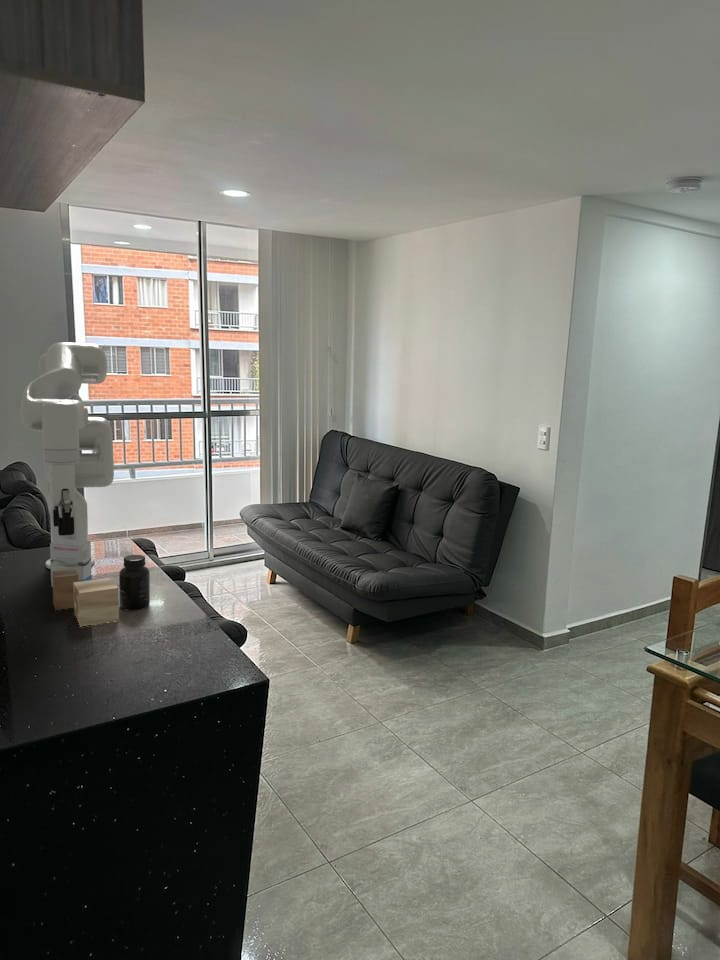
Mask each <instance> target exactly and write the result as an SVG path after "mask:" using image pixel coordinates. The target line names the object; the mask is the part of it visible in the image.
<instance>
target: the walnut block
mask: <svg viewBox="0 0 720 960" xmlns="http://www.w3.org/2000/svg"><path fill="white" fill-rule="evenodd" d="M52 579H53V588H52V603H53V604H52V605H53V608H54V609H55V611H56V610H58V611H63V610H62V609H65V610H68V609H67V608H73V609H74V596H73V582H78V573H77V571H76V569H69V570H60V571H52Z"/></svg>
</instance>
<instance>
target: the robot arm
mask: <svg viewBox="0 0 720 960" xmlns="http://www.w3.org/2000/svg"><path fill="white" fill-rule="evenodd" d="M38 371H39V376H38V377H37V378H35V379H34V380H32V381H31V382H29V383H28V384H27V385H26V386H25V388H24V390H23V393H22V396H21V402H20V403H21V404H20V421H21V423H22V425H23V427H24V428H26V429H27V430H29V431H32V432H42V433H41V434H42V437H41V438H42V457H43V458H42V461H43V464H44V473H45V479H46V483H47V502H48V504H49V515H50V516H49V519H50V543H52V542H54V541H57V540H59V539H67V540H81V541H89V527H88V526H89V525H88V523H89V522H88V502H87V500H86V498H85V497H84V496H83V495H82V494H81V493H80V492H79V491H78V490H77V489H83V488H105V487H109V486H110V485H112V483H113V482H114V478H115V477H114V476H115V462H114V443H113V442H114V440H113V430H112V426H111V423H110V421H109V419H106V418H105V417H103V416H101V417H100V416H89V409H88V407H87V406H86V405H85V404H84V401H83V399H82V398H81V396H80V395H79V394H78V392H79V391H80V389H81V386H82V384H89V385H90V384H91V385H98V384H102V383H104V382H105V380H106V378H107V372H108V360H107V355H106V353H105V350H104V349H103V347H101V346H100V345H99V344H95V343H85V342H70V341H69V342H67V341H66V342H64V341H63V342H56V343H52V345H50V346H49V348H48V349H47V351H46V352H45V353H43V354H41V356H40V357H39V358H38ZM80 451H93V452H95V453H92V452H91V453H90V452H89V453H88V452H87V453H83V452H80ZM95 561H96V559H95V558H94V557H93V556H91V567H92V566H94V564H95V563H96V562H95ZM45 567H46V568H47V569H49V570H51V559H50V558H49V559H47V560H46V561H45Z"/></svg>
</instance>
